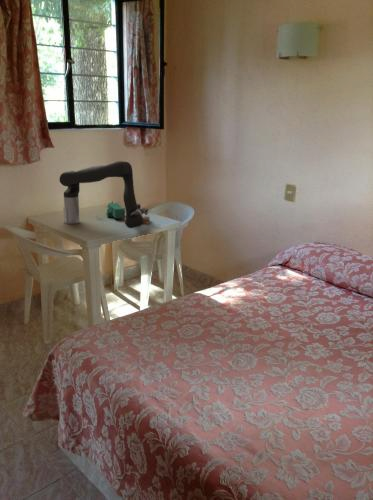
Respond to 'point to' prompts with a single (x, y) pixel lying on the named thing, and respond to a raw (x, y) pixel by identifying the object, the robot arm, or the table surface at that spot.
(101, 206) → the table surface
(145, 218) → the rail
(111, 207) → the toy
